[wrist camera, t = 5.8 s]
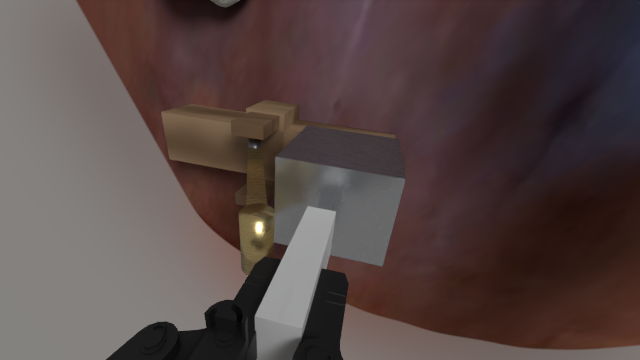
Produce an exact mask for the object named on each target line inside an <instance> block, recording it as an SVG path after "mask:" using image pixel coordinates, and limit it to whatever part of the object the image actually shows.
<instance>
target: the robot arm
mask: <svg viewBox="0 0 640 360" xmlns="http://www.w3.org/2000/svg"><path fill="white" fill-rule="evenodd" d="M335 216H336V211H331V210H326V209H321V208H315V207H310V206H308V207H307V209H306V211H305V213H304V215H303V217H302V219H301V221H300V223H299V225H298V227H297V229H296V232H295V234H294V236H293V238H292V240H291V242H290V244H289V246H288V248H287V250H286V252H285V254H284V256H283V258H282V260H279V259H274V258H270V257H266V256H265V257H263V258H262V259H261V260H259V261H258V262H257V263H256V264H255V265H254V267H253V268H252V270H251V272H250V274H249V275H248V277H247V279H246V280H245V283H244V284H243V285H242V287H241V289H240V290H239V292H238V294H237V295H236V297H235V299H234V300H224V301H220V302H217V303H216V304H214V305H212V306H211V307H210V308H209V309H208V310H207V311H206V312H205V313H204V314H205V320H206V326H207V328H205V329H200V330H190V331H178V330H177V328H176V327H175V326H174V324H172V323H168V322H157V323H154V324H151V325H148V326H147V327H145V328H144V329H142V330H141V331H139V332H138V333H137V334H136V335H135V336H134V337H132V338H131V339H130V340H129V341H127V342H126V343H125V344H124V345H123V346H122V347H120V348H119V349H118V350H117V351H116V352H114V353H113V354H112V355H111V356H110V357H109V358H107V359H106V360H343V358H342V356H341V352H340V338H341V331H342V324H343V318H344V311H345V304H346V297H347V291H348V281H347V278H346V275H345V273H340V272H336V271H331V270H327V269H326V268H327V264H328V260H329V256H330V252H331V245H332V238H333V231H334V223H335Z"/></svg>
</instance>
